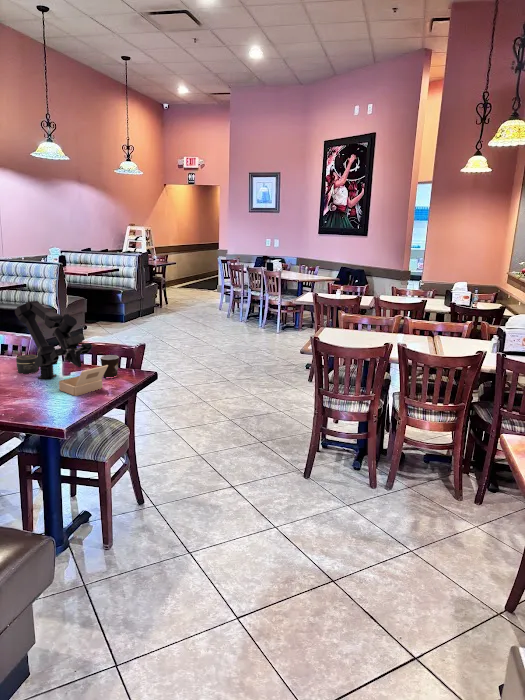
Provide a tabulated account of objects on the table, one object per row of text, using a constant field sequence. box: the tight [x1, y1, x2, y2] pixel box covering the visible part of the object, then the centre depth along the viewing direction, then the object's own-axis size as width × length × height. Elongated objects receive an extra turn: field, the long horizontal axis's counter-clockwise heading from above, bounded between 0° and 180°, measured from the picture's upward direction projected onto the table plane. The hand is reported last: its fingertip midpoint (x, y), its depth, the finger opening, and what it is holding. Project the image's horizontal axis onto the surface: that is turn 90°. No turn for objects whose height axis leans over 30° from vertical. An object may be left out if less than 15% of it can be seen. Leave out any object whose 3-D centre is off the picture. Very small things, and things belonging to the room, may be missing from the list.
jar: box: [15, 354, 40, 375], centre depth 248 cm, size 10×10×8 cm
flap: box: [76, 365, 108, 386], centre depth 219 cm, size 1×13×9 cm
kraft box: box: [58, 375, 104, 397], centre depth 226 cm, size 12×15×4 cm
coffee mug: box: [100, 354, 120, 378], centre depth 246 cm, size 12×9×10 cm
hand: (80, 366), depth 223 cm, fingers closed
